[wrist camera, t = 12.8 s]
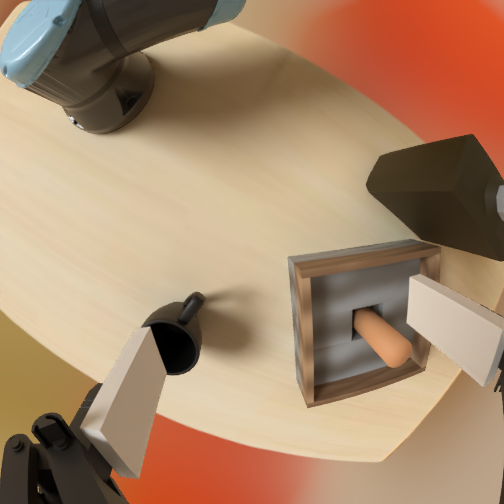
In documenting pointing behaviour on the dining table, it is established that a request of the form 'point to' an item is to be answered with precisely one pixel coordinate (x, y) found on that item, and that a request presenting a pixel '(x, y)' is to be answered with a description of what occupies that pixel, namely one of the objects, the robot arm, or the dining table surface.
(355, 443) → the dining table surface
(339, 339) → the crate
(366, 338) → the peg
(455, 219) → the bottle
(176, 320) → the mug
